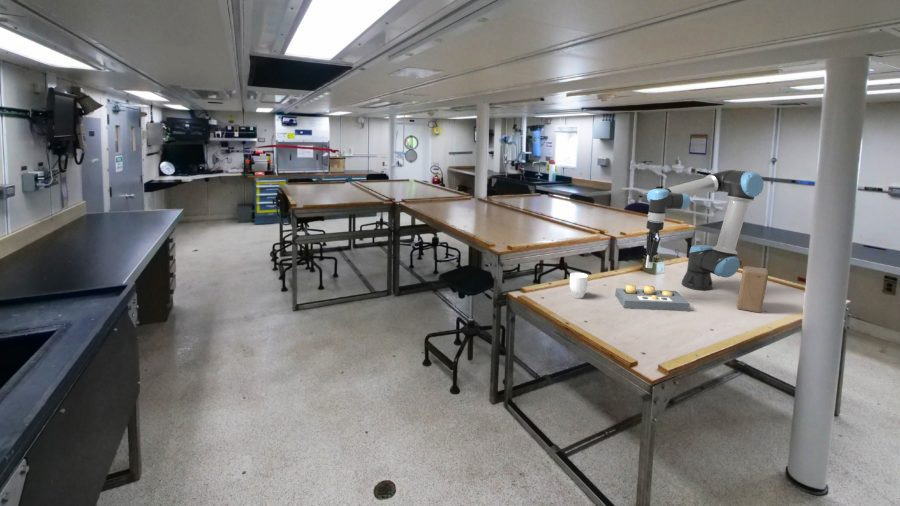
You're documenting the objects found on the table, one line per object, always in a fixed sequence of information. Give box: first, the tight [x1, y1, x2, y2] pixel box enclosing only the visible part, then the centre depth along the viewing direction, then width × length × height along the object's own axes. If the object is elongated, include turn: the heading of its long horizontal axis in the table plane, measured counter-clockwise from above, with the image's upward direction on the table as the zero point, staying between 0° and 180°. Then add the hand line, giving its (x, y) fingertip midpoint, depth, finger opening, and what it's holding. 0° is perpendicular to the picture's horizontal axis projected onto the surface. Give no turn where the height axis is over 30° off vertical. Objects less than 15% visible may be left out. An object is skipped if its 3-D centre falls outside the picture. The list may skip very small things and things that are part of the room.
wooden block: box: [736, 265, 769, 314], centre depth 224 cm, size 10×10×20 cm
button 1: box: [625, 284, 637, 294], centre depth 236 cm, size 5×5×4 cm
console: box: [614, 287, 691, 312], centre depth 232 cm, size 30×18×4 cm, turn 84°
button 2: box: [662, 289, 673, 296], centre depth 235 cm, size 5×5×4 cm
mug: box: [569, 272, 589, 299], centre depth 240 cm, size 12×9×12 cm
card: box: [637, 295, 672, 302], centre depth 227 cm, size 15×5×2 cm, turn 84°
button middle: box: [643, 284, 656, 295], centre depth 235 cm, size 5×5×4 cm
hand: (648, 267), depth 232 cm, fingers closed
